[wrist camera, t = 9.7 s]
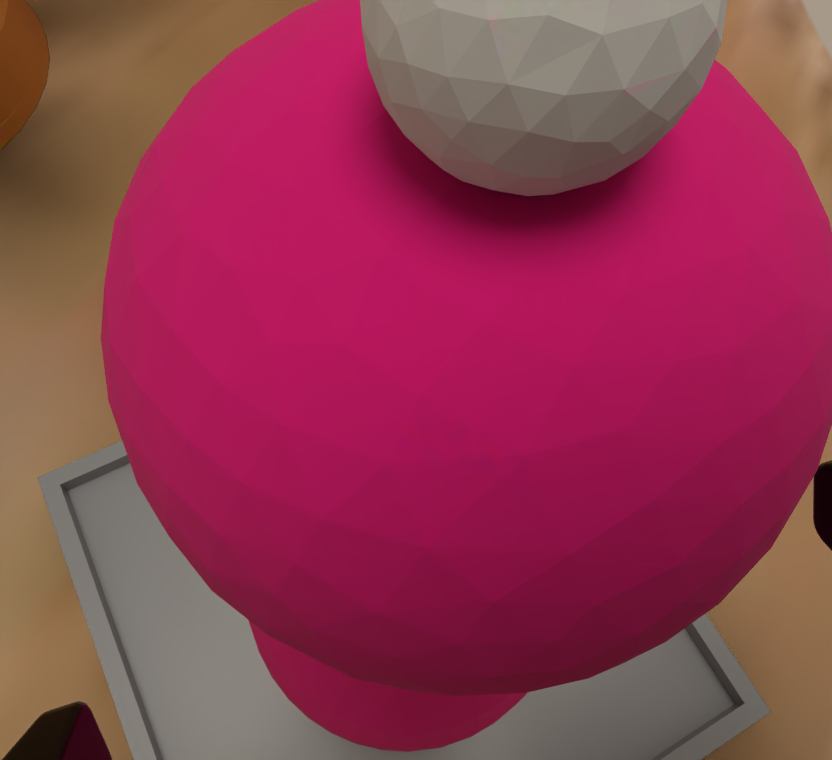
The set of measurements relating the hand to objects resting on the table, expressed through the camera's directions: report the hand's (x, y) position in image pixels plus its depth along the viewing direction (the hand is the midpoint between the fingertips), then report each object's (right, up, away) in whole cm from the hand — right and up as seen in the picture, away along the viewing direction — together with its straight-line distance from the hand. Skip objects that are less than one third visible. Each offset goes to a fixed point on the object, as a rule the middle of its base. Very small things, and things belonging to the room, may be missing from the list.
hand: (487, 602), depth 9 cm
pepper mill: (-1, -4, +12) cm, 13 cm away
